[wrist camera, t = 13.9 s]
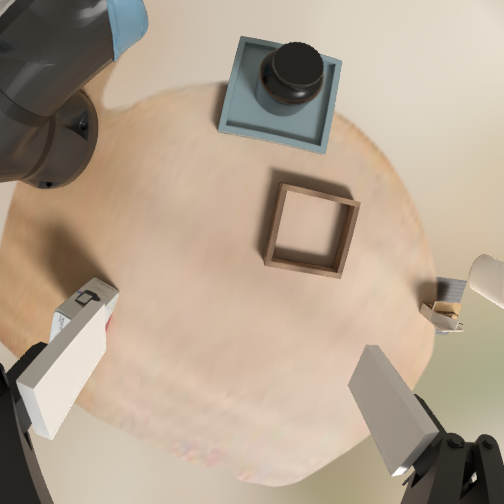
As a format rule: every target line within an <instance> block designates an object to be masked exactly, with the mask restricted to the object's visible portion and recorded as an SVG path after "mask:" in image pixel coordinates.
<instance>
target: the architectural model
mask: <svg viewBox="0 0 504 504" xmlns="http://www.w3.org/2000/svg"><path fill="white" fill-rule="evenodd" d="M461 306H462V303H460V302H453V301H438V300H437V301H435V303H434V305H432V304H429V307H428V306H427V305H425V304H424V303H422V306H421V309H420V313H421V314H422V315H423V316H424V317H425V318H426V319H427V320H429V321H430V322H431V323H432V324H433V325H434V326H435V328H437V329H438V330H439V331H440V332H441V333H449V332H462V331H463V329H461V328H460V327H459V326H458V324H460V323H459V321H458V320H457V317H458V314H459V312H460V309H461Z"/></svg>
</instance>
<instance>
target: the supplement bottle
mask: <svg viewBox="0 0 504 504" xmlns="http://www.w3.org/2000/svg"><path fill="white" fill-rule="evenodd" d="M323 64H324V62H323V61H322V57H321V56H320V54H319V53H318V51H317V50H315V49H314V48H313V47H311V46H310V45H307V44H305V43H301V42H293V43H292V42H290V43H288V44H285V45H283V46H281V47H280V48H277V49H275V50H273V51H271V52H270V53H269V54H267V55H266V56H265V58H264V59H263V61H262V63H261V65H260V68H259V72H258V77H257V82H256V87H255V94H256V98H257V101H258V103H259V104H260V106H261V107H262V108H263V109H264V110H266V111H267V112H269V113H270V114H273V115H276V116H291V115H294V114H296V113H298V112H299V111H300V110H302V109H303V108H304V107H305V106H306V105H307V104H309V103H310V102H311V101H312V100H313V99H314V98H315V97H316V96H317V95H318V94H319V93H320V91H321V90H322V87H323V84H324V70H323V69H324V65H323Z"/></svg>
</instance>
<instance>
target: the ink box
mask: <svg viewBox="0 0 504 504" xmlns="http://www.w3.org/2000/svg"><path fill="white" fill-rule="evenodd" d="M118 295H119V291H118V290H117V289H115V288H113V287H112V286H110V285H108V284H107V283H105V282H103V281H101V280H99V279H98V278H96V277H93V278H92V279H91V280H90V281H89V282H87V283H86V284H85V285H84V286H82V287H81V288H80V289H79V290H78V291H76V292H75V293H74V294H73V295H72V296H70V297H69V298H68V299H67V300H66V301H65V302H63V303H62V304H61V305H60V306H59V307H58V308H56V310H55V312H54V315H53V320H52V327H51V332H50V339H49V343H50V342H51V341H52V340H53V339H54V338H55V337H56V335H57V334H58V333H59V332H60V331H61V330H62V329H63V328H64V327H65V326H66V325H67V324H68V323H69V322H70V321H71V320H72V319H73V318H74V317H75V316H76V315H77V314H78V313H79V312H80V311H81V310H82V309H83V308H84V307H85V306H86V305H87V304H88V303H89V302H90V301H91V300H94V301H98V302H102V303H105V331H106V330H107V327H108V324H109V321H110V318H111V315H112V312H113V309H114V306H115V304H116V301H117V298H118Z"/></svg>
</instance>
